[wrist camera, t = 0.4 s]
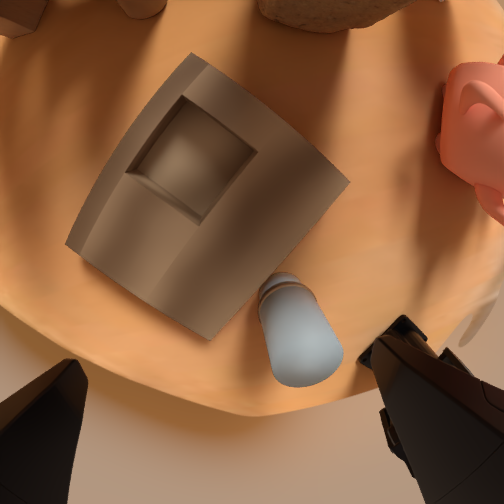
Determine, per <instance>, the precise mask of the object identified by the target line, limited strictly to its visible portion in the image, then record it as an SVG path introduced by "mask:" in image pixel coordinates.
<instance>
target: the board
mask: <svg viewBox="0 0 504 504" xmlns="http://www.w3.org/2000/svg"><path fill="white" fill-rule="evenodd" d="M349 183H350V181H349V180H348V179H347V178H346V177H345V176H344V175H343V174H342V173H341V172H340V171H339V170H338V169H337V168H336V167H335V166H334V165H333V164H332V163H331V162H330V161H329V160H328V159H327V158H326V157H325V156H324V155H322V154H321V153H320V152H319V151H318V150H317V149H316V148H315V147H314V146H313V145H312V144H311V143H310V142H308V141H307V140H306V139H305V138H304V137H303V136H302V135H301V134H299V133H298V132H297V131H296V130H295V129H294V128H293V127H291V126H290V125H289V124H288V123H287V122H286V121H284V120H283V119H282V118H281V117H280V116H278V115H277V114H276V113H275V112H274V111H272V110H271V109H270V108H269V107H267V106H266V105H265V104H264V103H262V102H261V101H260V100H259V99H257V98H256V97H255V96H253V95H252V94H251V93H249V92H248V91H247V90H245V89H244V88H243V87H241V86H240V85H239V84H237V83H236V82H235V81H233V80H232V79H230V78H229V77H228V76H226V75H225V74H223V73H222V72H220V71H219V70H218V69H216V68H215V67H213V66H212V65H210V64H209V63H207V62H206V61H204V60H203V59H201V58H200V57H198V56H196V55H195V54H193V53H192V52H191V53H190V54H189V55H188V56H187V57H186V58H185V60H184V61H183V62H182V63H181V64H180V65H179V66H178V67H177V68H176V69H175V71H174V72H173V73H172V74H171V75H170V76H169V78H168V79H167V80H166V81H165V82H164V83H163V85H162V86H161V87H160V88H159V89H158V91H157V92H156V93H155V94H154V96H153V97H152V98H151V100H150V101H149V102H148V103H147V105H146V106H145V107H144V109H143V110H142V111H141V113H140V114H139V115H138V117H137V118H136V120H135V121H134V122H133V124H132V125H131V127H130V128H129V129H128V131H127V132H126V134H125V135H124V137H123V138H122V140H121V141H120V143H119V144H118V146H117V147H116V149H115V150H114V152H113V154H112V155H111V157H110V158H109V160H108V162H107V163H106V165H105V167H104V168H103V170H102V172H101V173H100V175H99V177H98V179H97V180H96V182H95V184H94V186H93V188H92V189H91V191H90V193H89V195H88V197H87V199H86V201H85V203H84V205H83V207H82V208H81V210H80V212H79V215H78V217H77V219H76V221H75V223H74V225H73V227H72V229H71V231H70V234H69V236H68V238H67V240H66V243H65V245H67V246H68V247H69V248H70V249H72V250H73V251H74V252H76V253H77V254H78V255H79V256H81V257H82V258H83V259H85V260H86V261H87V262H89V263H90V264H91V265H93V266H94V267H95V268H97V269H98V270H99V271H101V272H102V273H104V274H105V275H106V276H108V277H109V278H111V279H112V280H113V281H115V282H116V283H118V284H119V285H121V286H122V287H124V288H125V289H126V290H128V291H129V292H131V293H132V294H134V295H135V296H137V297H138V298H140V299H141V300H143V301H144V302H146V303H148V304H149V305H151V306H152V307H154V308H155V309H157V310H159V311H160V312H162V313H163V314H165V315H167V316H168V317H170V318H171V319H173V320H175V321H176V322H178V323H180V324H181V325H183V326H185V327H186V328H188V329H190V330H192V331H193V332H195V333H197V334H199V335H200V336H202V337H204V338H206V339H207V340H209V341H211V340H212V339H213V337H214V336H215V335H216V334H217V333H218V332H219V331H220V330H221V329H222V328H223V327H224V326H225V325H226V323H227V322H228V321H229V320H230V319H231V318H232V317H233V316H234V315H235V314H236V313H237V312H238V310H239V309H240V308H241V307H242V306H243V305H244V304H245V303H246V302H247V301H248V299H249V298H250V297H251V296H252V295H253V294H254V293H255V292H256V291H257V289H258V288H259V287H260V286H261V285H262V284H263V283H264V282H265V281H266V279H267V278H268V277H269V276H270V275H271V274H272V273H273V272H274V270H275V269H276V268H277V267H278V266H279V265H280V264H281V263H282V261H283V260H284V259H285V258H286V257H287V256H288V255H289V253H290V252H291V251H292V250H293V249H294V248H295V247H296V245H297V244H298V243H299V242H300V241H301V240H302V239H303V237H304V236H305V235H306V234H307V233H308V232H309V231H310V229H311V228H312V227H313V226H314V225H315V224H316V222H317V221H318V220H319V219H320V218H321V217H322V215H323V214H324V213H325V212H326V211H327V209H328V208H329V207H330V206H331V205H332V204H333V202H334V201H335V200H336V199H337V198H338V196H339V195H340V194H341V193H342V192H343V190H344V189H345V188H346V187H347V186H348V184H349Z"/></svg>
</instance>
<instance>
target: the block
mask: <svg viewBox="0 0 504 504" xmlns="http://www.w3.org/2000/svg"><path fill="white" fill-rule="evenodd" d="M414 1H416V0H258V6H259V9H260V11H261V13H262V15H264V16H265V17H267V18H268V19H271V20H273V21H276V22H280V23H282V24H285V25H288V26H290V27H294V28H298V29H302V30H306V31H312V32H325V33H332V32H337V31H341V30H345V29H354V28H366V27H369V26H372V25H374V24H375V23H376V22H378V21H380V20H383V19H384V18H386V17H387V16H389V15H391V14H393V13H395V12H396V11H398V10H400V9H402V8H404V7H406V6H407V5H409V4H411V3H413V2H414Z"/></svg>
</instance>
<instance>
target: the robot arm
mask: <svg viewBox="0 0 504 504" xmlns="http://www.w3.org/2000/svg"><path fill="white" fill-rule="evenodd" d="M427 339H428V338H427V337H426V336H425V335H424V333H423V332H422V331H421V330H420V329H419V328H418V327H417V326H416V325H415V324H414V323H413V322H412V321H411V320H410V319H409V318H408V317H407V316H406V315H401V316H400V317H399V318H398V319H397V320H396V321H395V322H394V323H393V324H392V326H391V327H390V328H389V329H388V330H387V331H386V332H385V333H384V334H383V335H382V336H380V337H377V338H376V339H375V341H374V344H373V345H372V346H371V347H370V348H368V349H367V350H366V351H365V352H364V353H363V354H362V355H361V356H360V357H359V361H360V363H361V364H363V365H365V366H367V367H368V368H370V369H372V370H373V372H374V375H375V378H376V381H377V384H378V387H379V390H380V393H381V396H382V399H383V402H384V405H385V408H383V409H382V410H380V411H379V413H380V416H381V421H382V425H383V428H384V432H385V435H386V439H387V443H388V447H389V448H390V450H391V452H392V453H394V454H395V455H396V456H397V457H398V458H400V459H401V460H403V461H404V462H405V463H406V465H407V467H408V469H409V471H410V473H411V475H412V477H413V478H415V479H416V480H417V482H418V485H419V488H420V490H421V493H422V496H423V498H424V501H425V503H426V504H504V390H501V389H499V388H497V387H495V386H493V385H490V384H488V383H486V382H484V381H480V379H478V378H476V377H474V375H473V374H472V373H471V372H470V370H469V369H468V368H467V367H466V366H465V365H464V364H463V363H462V362H461V360H460V359H459V358H458V357H457V356H456V355H455V354H453V352H452V351H451V350H450V349H449V348H447V347H446V348H445V349H444V350H443V353H442V354H441V355H440V356H439V357H438V356H437V355H436V354H435V352H434V351H433V350H432V349H431V348H430V347H429V345H428V344H427V343H426V341H427ZM87 389H88V379H87V376H86V375H85V373H84V371H83V369H82V367H81V365H80V363H79V362H78V360H76V359H70V358H66V359H64V360H62V361H61V362H60V363H58V364H56V365H55V366H53V367H52V368H51V369H49V370H48V371H46V372H45V373H43V374H42V375H40V376H39V377H37V378H36V379H34V380H33V381H31V382H30V383H28V384H27V385H26V386H24V387H23V388H21V389H20V390H18V391H17V392H16V393H14V394H13V395H11V396H10V397H8V398H7V399H5V400H4V401H2V402H1V403H0V504H67V501H68V493H69V486H70V480H71V474H72V468H73V462H74V458H75V453H76V448H77V443H78V439H79V434H80V430H81V425H82V419H83V413H84V407H85V401H86V395H87Z"/></svg>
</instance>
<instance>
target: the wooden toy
mask: <svg viewBox="0 0 504 504" xmlns="http://www.w3.org/2000/svg"><path fill="white" fill-rule="evenodd" d="M47 1H49V0H0V35H3V36H5V37H8V38H15V37H18V36H21V35H25V34H28V33H32V32H34V31H35V29H36V27H37V24H38V22H39V20H40V17H41V15H42V13H43V11H44V8H45V6H46V4H47ZM116 1H117V2H118V4H119V5H120V6H121V8H122V9H123V10H124V11H125V13H126V14H127V15H128V16H129V17H131V18H135V19H145V18H149V17H151V16H154V15H155V14H157V13H159V12H160V11H161V10H162V9H163V8H164V6H165V4H166V3H167V0H116Z"/></svg>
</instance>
